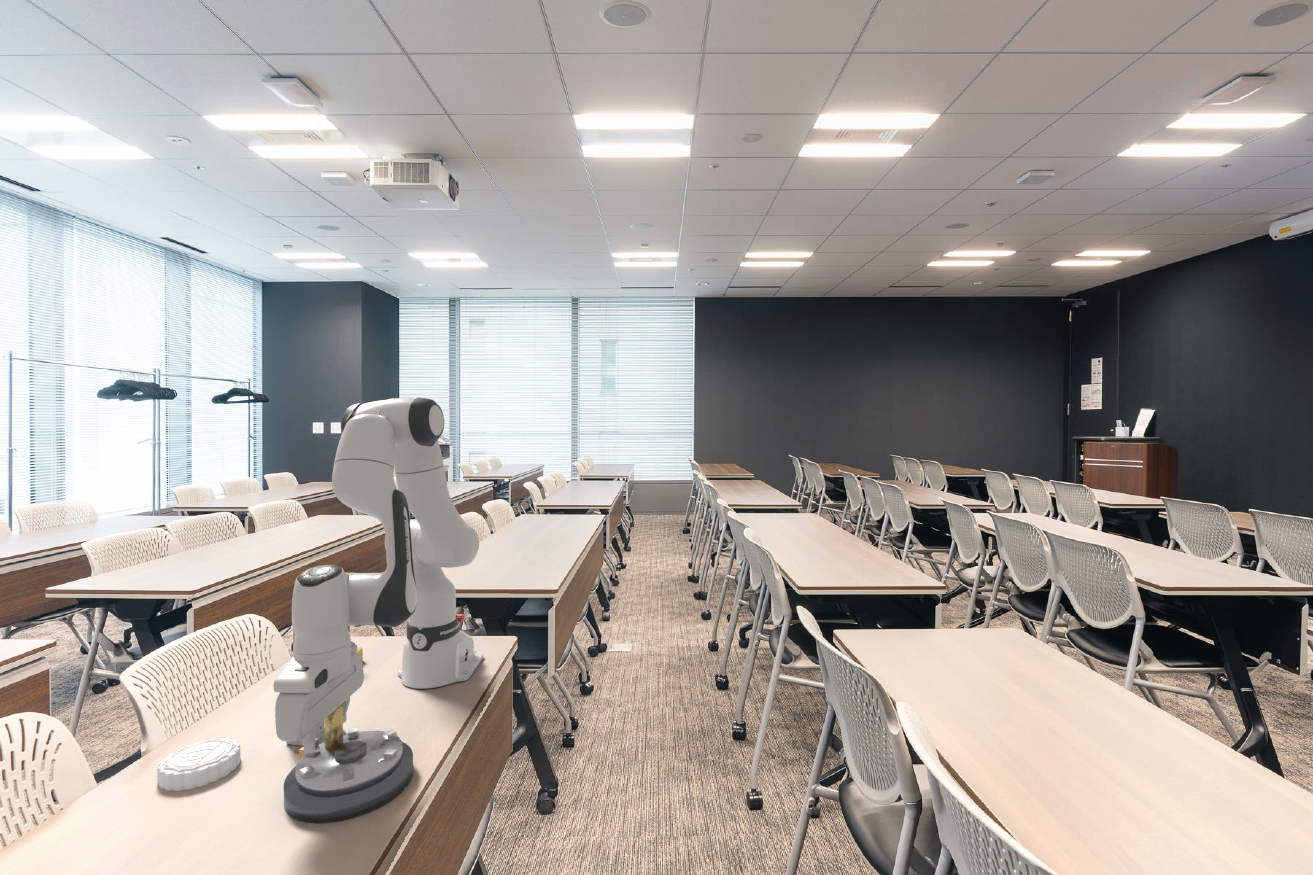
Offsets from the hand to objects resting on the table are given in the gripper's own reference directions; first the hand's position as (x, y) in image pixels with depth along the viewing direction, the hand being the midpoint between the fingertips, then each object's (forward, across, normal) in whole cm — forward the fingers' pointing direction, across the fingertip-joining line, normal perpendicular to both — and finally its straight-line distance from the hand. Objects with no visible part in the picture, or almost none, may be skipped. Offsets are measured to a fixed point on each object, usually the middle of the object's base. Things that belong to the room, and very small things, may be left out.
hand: (325, 736), depth 105 cm
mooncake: (+8, -2, -25) cm, 26 cm away
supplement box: (+8, -14, -11) cm, 20 cm away
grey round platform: (+8, +1, +5) cm, 9 cm away
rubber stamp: (+10, -47, -24) cm, 54 cm away
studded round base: (+5, +1, +5) cm, 7 cm away
